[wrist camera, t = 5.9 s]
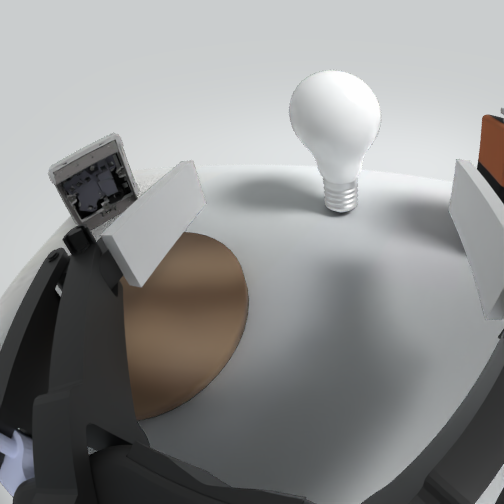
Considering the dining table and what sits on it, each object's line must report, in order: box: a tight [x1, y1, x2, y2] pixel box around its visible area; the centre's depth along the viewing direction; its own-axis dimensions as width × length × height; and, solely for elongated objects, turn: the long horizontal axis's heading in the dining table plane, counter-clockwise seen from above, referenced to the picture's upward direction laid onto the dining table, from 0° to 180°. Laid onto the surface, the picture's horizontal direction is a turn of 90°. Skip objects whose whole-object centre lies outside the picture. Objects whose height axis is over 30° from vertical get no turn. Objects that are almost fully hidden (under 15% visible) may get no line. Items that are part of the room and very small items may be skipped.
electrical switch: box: [48, 133, 139, 230], centre depth 27 cm, size 9×5×9 cm, turn 123°
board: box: [120, 232, 249, 421], centre depth 17 cm, size 15×15×1 cm
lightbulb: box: [289, 70, 381, 213], centre depth 18 cm, size 6×6×11 cm
